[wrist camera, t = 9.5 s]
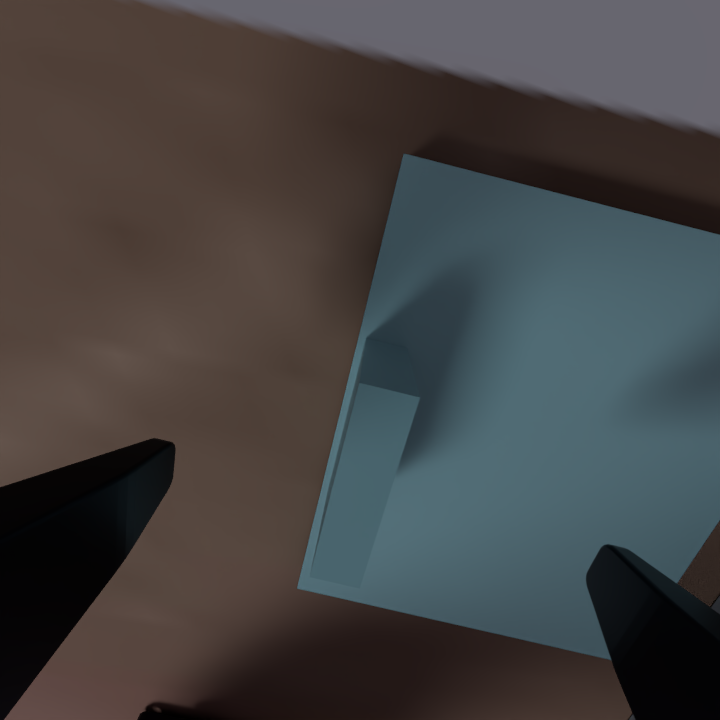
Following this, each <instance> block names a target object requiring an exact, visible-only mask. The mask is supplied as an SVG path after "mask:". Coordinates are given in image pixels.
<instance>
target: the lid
mask: <svg viewBox="0 0 720 720" xmlns="http://www.w3.org/2000/svg"><path fill="white" fill-rule="evenodd" d="M719 520H720V235H718V234H715V233H711V232H707V231H703V230H699V229H695V228H691V227H687V226H683V225H680V224H676V223H672V222H668V221H664V220H660V219H656V218H652V217H649V216H645V215H641V214H637V213H633V212H629V211H625V210H621V209H617V208H614V207H610V206H606V205H602V204H598V203H594V202H590V201H586V200H583V199H579V198H575V197H571V196H567V195H563V194H559V193H555V192H552V191H548V190H544V189H540V188H536V187H532V186H528V185H524V184H520V183H517V182H513V181H509V180H505V179H501V178H497V177H493V176H489V175H486V174H482V173H478V172H474V171H470V170H466V169H462V168H458V167H454V166H451V165H447V164H443V163H439V162H435V161H431V160H427V159H423V158H420V157H416V156H412V155H408V154H403V158H402V162H401V166H400V170H399V174H398V178H397V182H396V187H395V191H394V195H393V199H392V203H391V207H390V211H389V215H388V219H387V223H386V227H385V231H384V236H383V240H382V244H381V248H380V252H379V256H378V260H377V264H376V268H375V272H374V276H373V280H372V284H371V289H370V293H369V297H368V301H367V305H366V309H365V313H364V317H363V321H362V325H361V329H360V333H359V338H358V342H357V346H356V350H355V354H354V358H353V362H352V366H351V370H350V374H349V378H348V382H347V387H346V391H345V395H344V399H343V403H342V407H341V411H340V415H339V419H338V423H337V427H336V431H335V435H334V440H333V444H332V448H331V452H330V456H329V460H328V464H327V468H326V472H325V476H324V480H323V484H322V489H321V493H320V497H319V501H318V505H317V509H316V513H315V517H314V521H313V525H312V529H311V533H310V538H309V542H308V546H307V550H306V554H305V558H304V562H303V566H302V570H301V574H300V579H299V583H298V587H297V589H302V590H306V591H310V592H315V593H319V594H324V595H328V596H332V597H337V598H341V599H346V600H350V601H354V602H359V603H363V604H368V605H372V606H376V607H381V608H385V609H389V610H394V611H398V612H403V613H407V614H411V615H416V616H420V617H425V618H429V619H433V620H438V621H442V622H447V623H451V624H455V625H460V626H464V627H469V628H473V629H477V630H482V631H486V632H490V633H495V634H499V635H504V636H508V637H512V638H517V639H521V640H526V641H530V642H534V643H539V644H543V645H548V646H552V647H556V648H561V649H565V650H570V651H574V652H578V653H583V654H587V655H591V656H596V657H600V658H605V659H609V660H611V658H610V655H609V652H608V649H607V646H606V643H605V640H604V637H603V634H602V631H601V628H600V625H599V622H598V619H597V616H596V613H595V610H594V607H593V604H592V601H591V598H590V595H589V592H588V589H587V585H586V574H587V571H588V569H589V567H590V565H591V564H592V562H593V560H594V558H595V557H596V555H597V553H598V551H599V550H600V548H601V547H602V546H603V545H605V544H611V545H615V546H620V547H624V548H626V549H629V550H630V551H632V552H633V553H635V554H636V555H637V556H639V557H640V558H642V559H643V560H644V561H646V562H647V563H649V564H650V565H651V566H653V567H654V568H656V569H657V570H658V571H660V572H661V573H663V574H664V575H665V576H667V577H668V578H670V579H671V580H672V581H674V582H675V583H678V581H679V580H680V578H681V577H682V575H683V574H684V572H685V571H686V569H687V568H688V566H689V565H690V563H691V562H692V560H693V559H694V557H695V556H696V554H697V553H698V552H699V550H700V549H701V547H702V546H703V544H704V543H705V541H706V540H707V538H708V537H709V535H710V534H711V532H712V531H713V529H714V528H715V526H716V525H717V523H718V522H719Z"/></svg>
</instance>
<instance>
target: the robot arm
mask: <svg viewBox="0 0 720 720" xmlns="http://www.w3.org/2000/svg"><path fill="white" fill-rule="evenodd" d="M174 461H175V445H174V444H173V442H170V441H165V440H161V439H156V438H153V439H149V440H146V441H143V442H140V443H137V444H133V445H130V446H127V447H124V448H121V449H118V450H115V451H112V452H109V453H105V454H102V455H99V456H96V457H93V458H90V459H87V460H84V461H81V462H77V463H74V464H71V465H68V466H65V467H62V468H59V469H56V470H53V471H49V472H46V473H43V474H40V475H37V476H34V477H31V478H28V479H25V480H21V481H18V482H15V483H12V484H9V485H6V486H3V487H0V720H4V719H5V717H6V716H7V715H8V714H9V712H10V711H11V710H12V708H13V707H14V706H15V704H16V703H17V702H18V700H19V699H20V698H21V696H22V695H23V694H24V692H25V691H26V690H27V688H28V687H29V686H30V685H31V683H32V682H33V681H34V679H35V678H36V677H37V675H38V674H39V673H40V671H41V670H42V669H43V667H44V666H45V665H46V663H47V662H48V661H49V659H50V658H51V657H52V656H53V654H54V653H55V652H56V650H57V649H58V648H59V646H60V645H61V644H62V642H63V641H64V640H65V638H66V637H67V636H68V634H69V633H70V632H71V630H72V629H73V628H74V627H75V625H76V624H77V623H78V621H79V620H80V619H81V617H82V616H83V615H84V613H85V612H86V611H87V609H88V608H89V607H90V605H91V604H92V603H93V601H94V600H95V599H96V598H97V596H98V595H99V594H100V592H101V591H102V590H103V588H104V587H105V586H106V584H107V583H108V582H109V580H110V579H111V578H112V576H113V575H114V574H115V572H116V571H117V570H118V568H119V567H120V566H121V564H122V563H123V561H124V560H125V559H126V557H127V555H128V554H129V552H130V551H131V549H132V548H133V546H134V545H135V543H136V541H137V540H138V538H139V536H140V535H141V533H142V532H143V530H144V528H145V527H146V525H147V523H148V522H149V520H150V519H151V517H152V515H153V514H154V512H155V510H156V509H157V507H158V506H159V504H160V502H161V501H162V499H163V497H164V496H165V494H166V493H167V491H168V489H169V487H170V485H171V483H172V479H173V473H174ZM586 585H587V589H588V592H589V595H590V598H591V601H592V604H593V607H594V610H595V613H596V616H597V619H598V622H599V625H600V628H601V631H602V634H603V637H604V640H605V643H606V646H607V649H608V652H609V655H610V658H611V661H612V663H613V666H614V669H615V672H616V674H617V677H618V679H619V682H620V684H621V687H622V689H623V692H624V694H625V696H626V699H627V701H628V703H629V706H630V708H631V711H632V713H633V715H634V718H635V720H720V614H719V613H717V612H716V611H715V610H713V609H712V608H710V607H709V606H708V605H706V604H705V603H703V602H702V601H701V600H699V599H698V598H696V597H695V596H694V595H692V594H691V593H689V592H688V591H687V590H685V589H684V588H682V587H681V586H680V585H678V584H677V583H675V582H674V581H672V580H671V579H670V578H668V577H667V576H665V575H664V574H663V573H661V572H660V571H658V570H657V569H656V568H654V567H653V566H651V565H650V564H649V563H647V562H646V561H644V560H643V559H642V558H640V557H639V556H637V555H636V554H635V553H633V552H632V551H630V550H629V549H626V548H624V547H620V546H615V545H611V544H605V545H603V546H602V547H601V548H600V550H599V551H598V553H597V555H596V557H595V558H594V560H593V562H592V564H591V565H590V567H589V569H588V571H587V574H586ZM137 720H186V719H181V718H177V717H172V716H168V715H163V714H158V713H154V712H148V711H146V712H142V713H141V714H140V715H139V717H138V719H137Z"/></svg>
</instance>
